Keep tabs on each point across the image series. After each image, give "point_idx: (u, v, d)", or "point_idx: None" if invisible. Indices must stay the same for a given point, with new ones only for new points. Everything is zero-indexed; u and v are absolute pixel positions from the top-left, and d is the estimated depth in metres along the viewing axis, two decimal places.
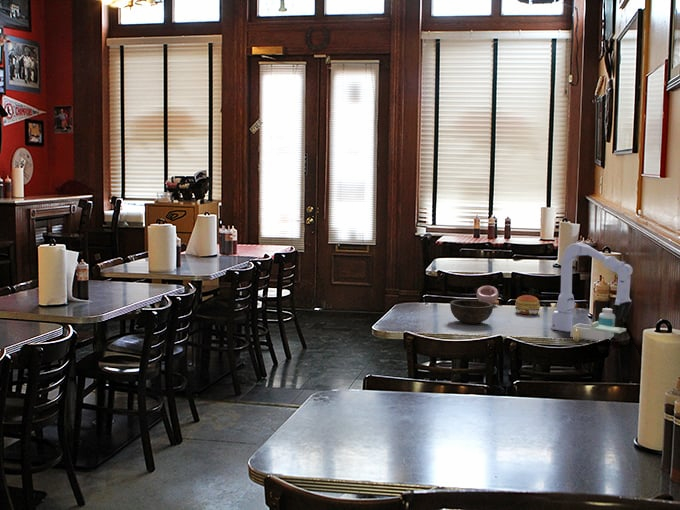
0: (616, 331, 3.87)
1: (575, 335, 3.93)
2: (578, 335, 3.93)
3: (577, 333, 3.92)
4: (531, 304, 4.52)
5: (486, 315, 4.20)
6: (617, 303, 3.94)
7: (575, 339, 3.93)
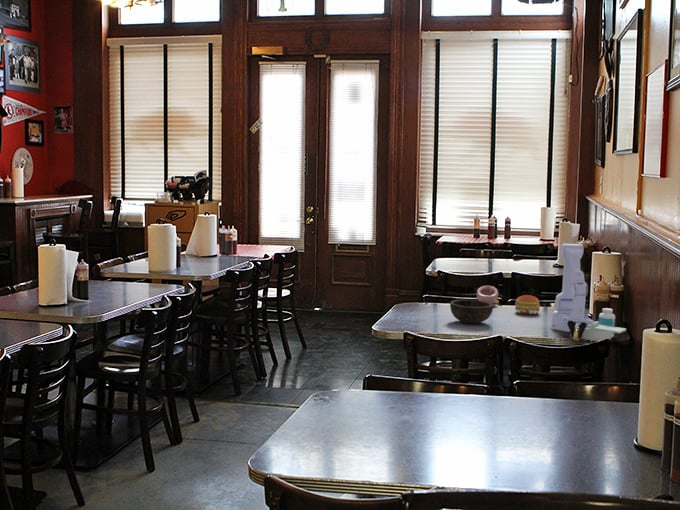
0: (616, 331, 3.87)
1: (575, 335, 3.93)
2: (578, 335, 3.93)
3: (577, 333, 3.92)
4: (531, 304, 4.52)
5: (486, 315, 4.20)
6: None
7: (575, 339, 3.93)
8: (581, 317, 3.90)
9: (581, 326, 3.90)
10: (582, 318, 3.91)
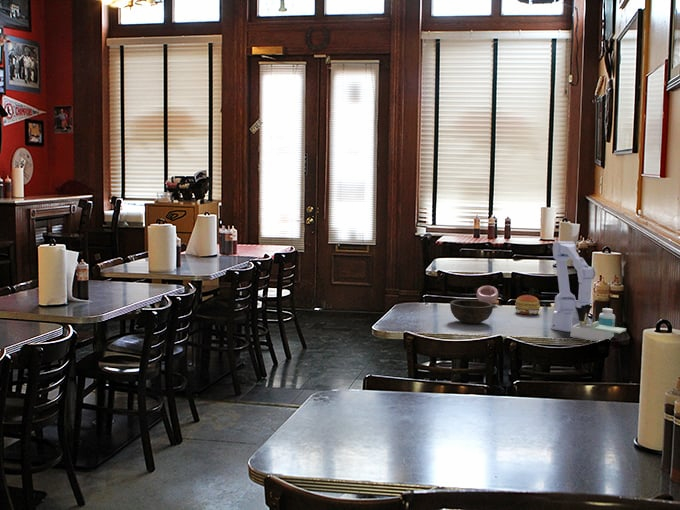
0: (616, 331, 3.87)
1: (586, 318, 3.99)
2: None
3: None
4: (531, 304, 4.52)
5: (486, 315, 4.20)
6: (578, 306, 3.93)
7: None
8: None
9: (591, 307, 4.00)
10: None
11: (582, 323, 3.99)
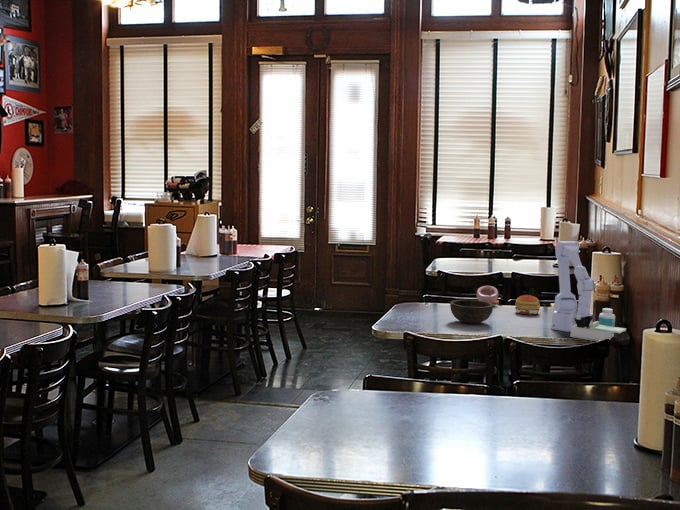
0: (616, 331, 3.87)
1: None
2: None
3: None
4: (531, 304, 4.52)
5: (486, 315, 4.20)
6: (578, 318, 3.95)
7: None
8: None
9: (591, 318, 4.02)
10: None
11: None
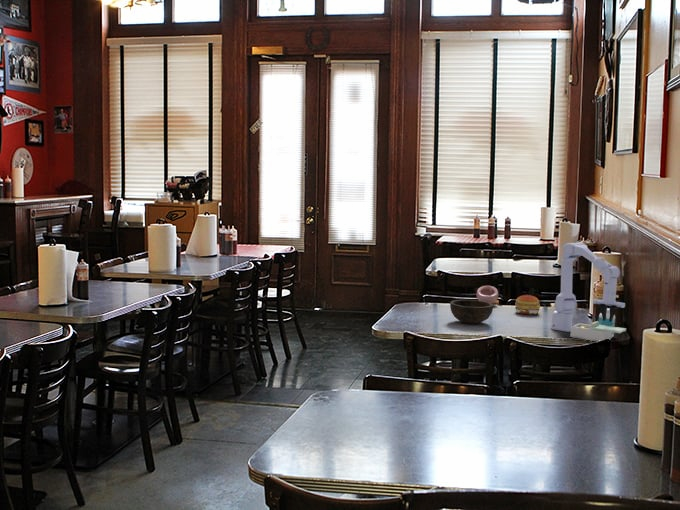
0: (616, 331, 3.87)
1: None
2: None
3: None
4: (531, 304, 4.52)
5: (486, 315, 4.20)
6: None
7: None
8: (612, 300, 3.90)
9: (612, 309, 3.89)
10: (613, 301, 3.90)
11: None
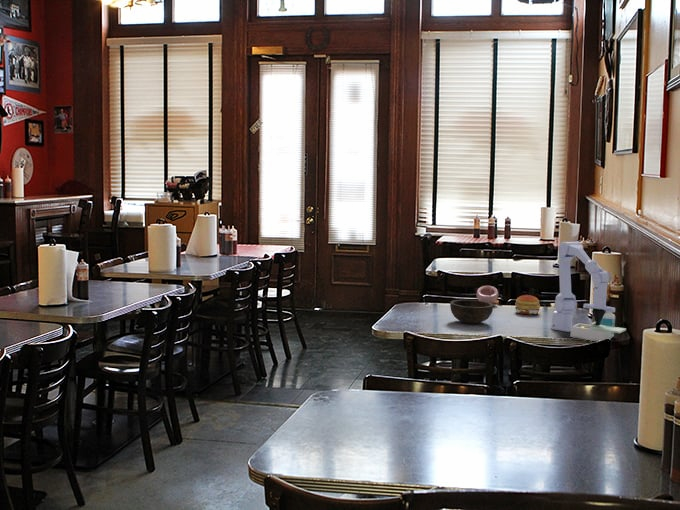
0: (616, 331, 3.87)
1: None
2: None
3: None
4: (531, 304, 4.52)
5: (486, 315, 4.20)
6: None
7: None
8: (603, 304, 3.93)
9: (600, 313, 3.93)
10: (604, 305, 3.93)
11: None
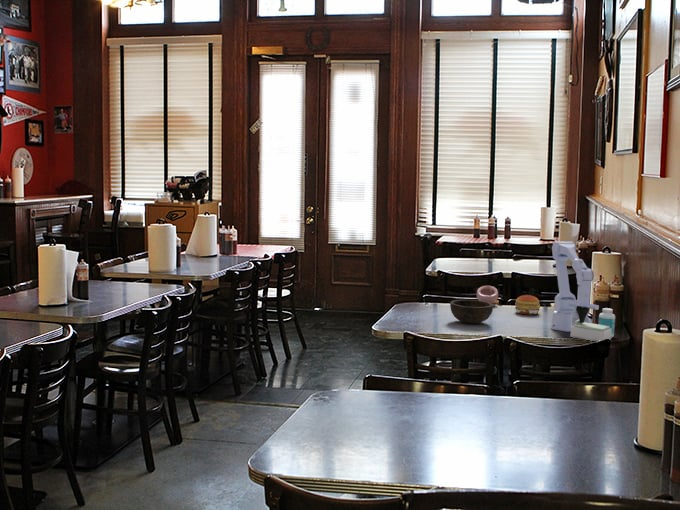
0: (599, 328, 3.92)
1: None
2: None
3: None
4: (531, 304, 4.52)
5: (486, 315, 4.20)
6: None
7: None
8: (586, 302, 3.97)
9: (583, 310, 3.98)
10: (587, 303, 3.98)
11: None
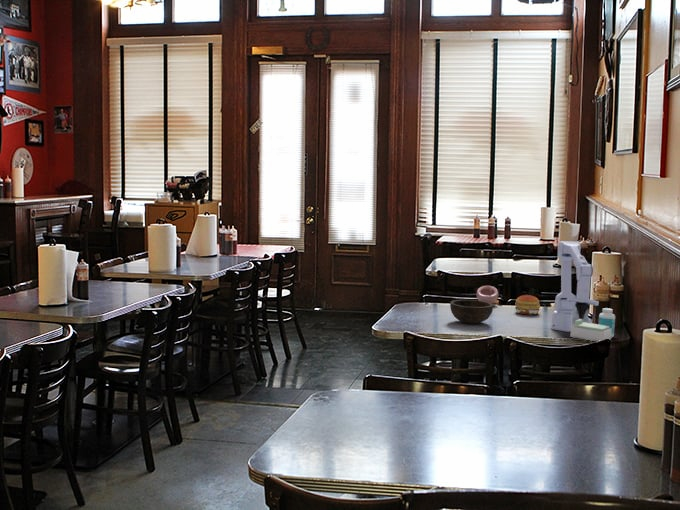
0: (599, 328, 3.92)
1: None
2: None
3: None
4: (531, 304, 4.52)
5: (486, 315, 4.20)
6: None
7: None
8: (586, 298, 3.90)
9: (583, 306, 3.90)
10: (587, 299, 3.91)
11: None
